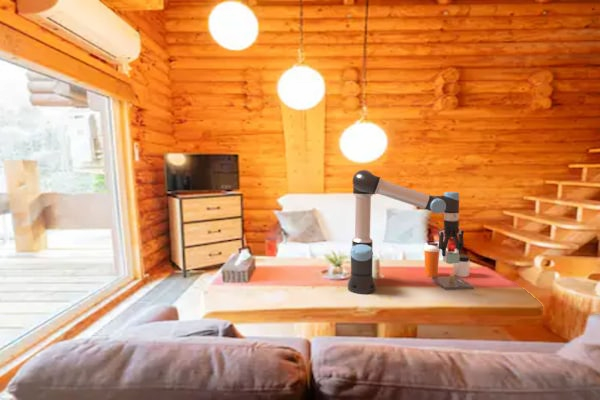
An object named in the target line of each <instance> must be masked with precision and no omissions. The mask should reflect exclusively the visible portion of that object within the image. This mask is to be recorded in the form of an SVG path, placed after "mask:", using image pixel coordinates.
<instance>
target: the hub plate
mask: <svg viewBox="0 0 600 400" xmlns="http://www.w3.org/2000/svg"><path fill="white" fill-rule="evenodd" d="M431 280H432V281H433V282H434V283H436V284H437V285H438V286H439V287H440V288H441V289H443V290H446V291H447V290H449V291H450V290H452V291H454V290H455V291H456V290H474V285H472V284H471V283H469V282H468V281H467V280H465V279H463V277H458V276H456V275H454V274H453V273H449V276H436V277H431Z"/></svg>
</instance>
